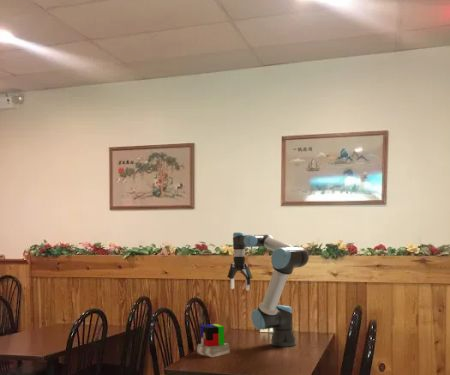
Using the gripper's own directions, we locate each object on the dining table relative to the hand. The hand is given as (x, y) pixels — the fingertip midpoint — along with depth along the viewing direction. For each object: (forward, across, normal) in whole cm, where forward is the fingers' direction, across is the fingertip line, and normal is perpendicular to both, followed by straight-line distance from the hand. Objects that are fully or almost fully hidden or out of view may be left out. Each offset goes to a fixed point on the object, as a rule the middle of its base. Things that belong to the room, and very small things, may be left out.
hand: (240, 289), depth 303 cm
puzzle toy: (+27, +13, -36) cm, 47 cm away
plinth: (+32, +13, -36) cm, 50 cm away
